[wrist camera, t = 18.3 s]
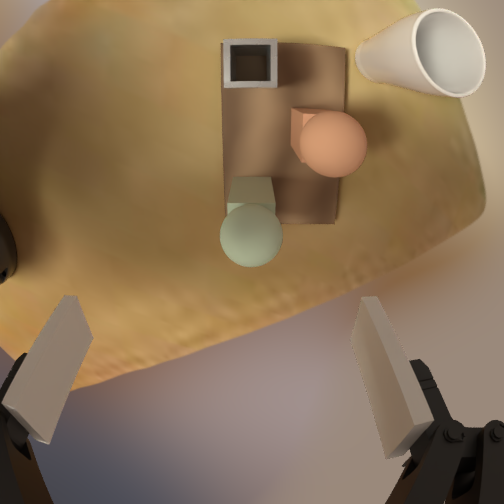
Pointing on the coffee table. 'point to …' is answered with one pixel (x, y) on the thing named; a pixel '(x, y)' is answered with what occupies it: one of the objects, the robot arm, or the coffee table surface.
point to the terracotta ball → (333, 144)
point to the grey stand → (249, 49)
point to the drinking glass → (425, 55)
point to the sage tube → (251, 193)
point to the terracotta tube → (300, 126)
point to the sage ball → (251, 235)
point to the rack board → (282, 127)
